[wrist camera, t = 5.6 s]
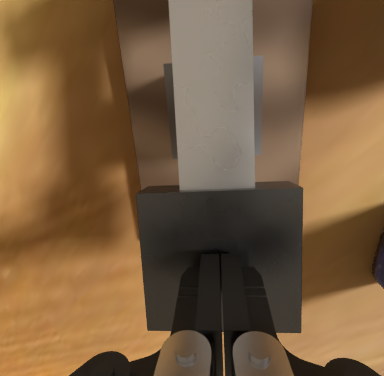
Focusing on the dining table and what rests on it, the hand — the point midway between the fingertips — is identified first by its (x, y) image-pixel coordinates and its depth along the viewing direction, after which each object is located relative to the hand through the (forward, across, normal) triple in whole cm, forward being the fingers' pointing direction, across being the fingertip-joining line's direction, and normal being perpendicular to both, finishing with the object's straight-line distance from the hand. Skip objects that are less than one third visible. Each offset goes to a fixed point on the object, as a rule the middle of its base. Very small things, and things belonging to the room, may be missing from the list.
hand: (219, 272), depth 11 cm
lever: (+3, 0, -6) cm, 7 cm away
